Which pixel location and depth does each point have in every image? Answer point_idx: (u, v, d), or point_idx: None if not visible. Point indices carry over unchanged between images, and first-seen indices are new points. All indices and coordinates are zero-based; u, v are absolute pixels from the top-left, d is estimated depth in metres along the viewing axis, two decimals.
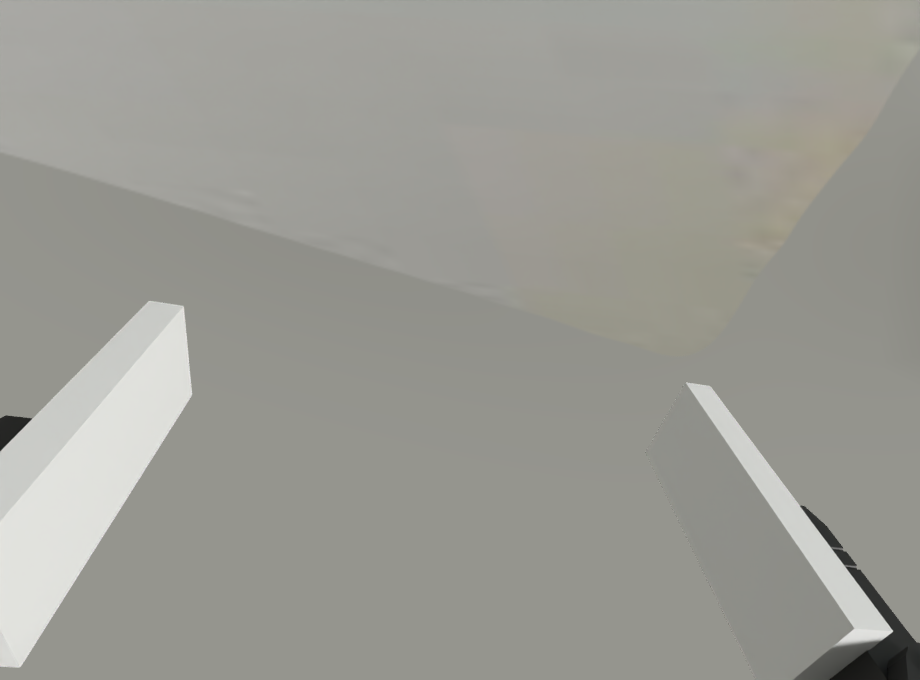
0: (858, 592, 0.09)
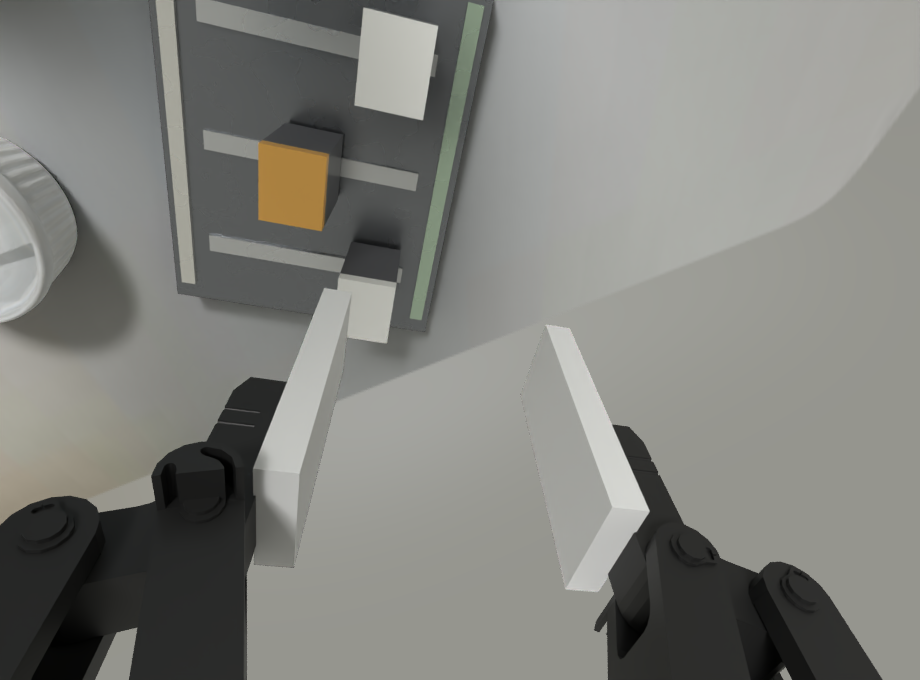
0: (632, 483, 0.10)
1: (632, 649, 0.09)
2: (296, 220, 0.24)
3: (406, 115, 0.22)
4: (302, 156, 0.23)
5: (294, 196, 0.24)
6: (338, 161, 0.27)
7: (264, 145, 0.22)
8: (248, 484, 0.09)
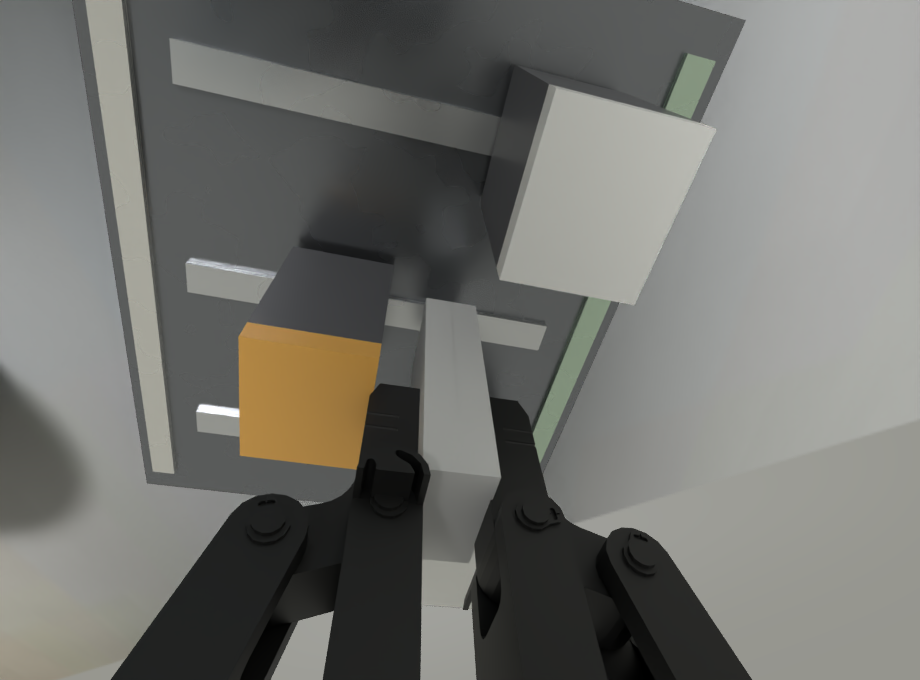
0: (491, 450, 0.10)
1: (491, 628, 0.08)
2: (313, 456, 0.13)
3: (603, 296, 0.11)
4: (329, 358, 0.11)
5: (310, 420, 0.12)
6: None
7: (251, 340, 0.11)
8: None
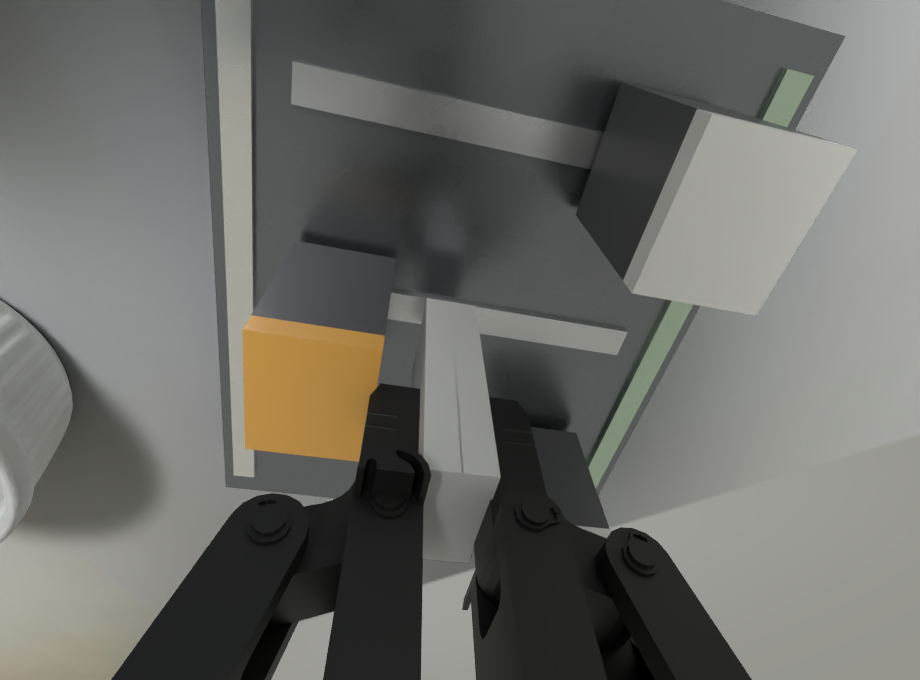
0: (491, 450, 0.10)
1: (490, 628, 0.08)
2: (317, 448, 0.13)
3: (727, 308, 0.11)
4: (333, 350, 0.11)
5: (314, 413, 0.12)
6: None
7: (255, 333, 0.11)
8: None
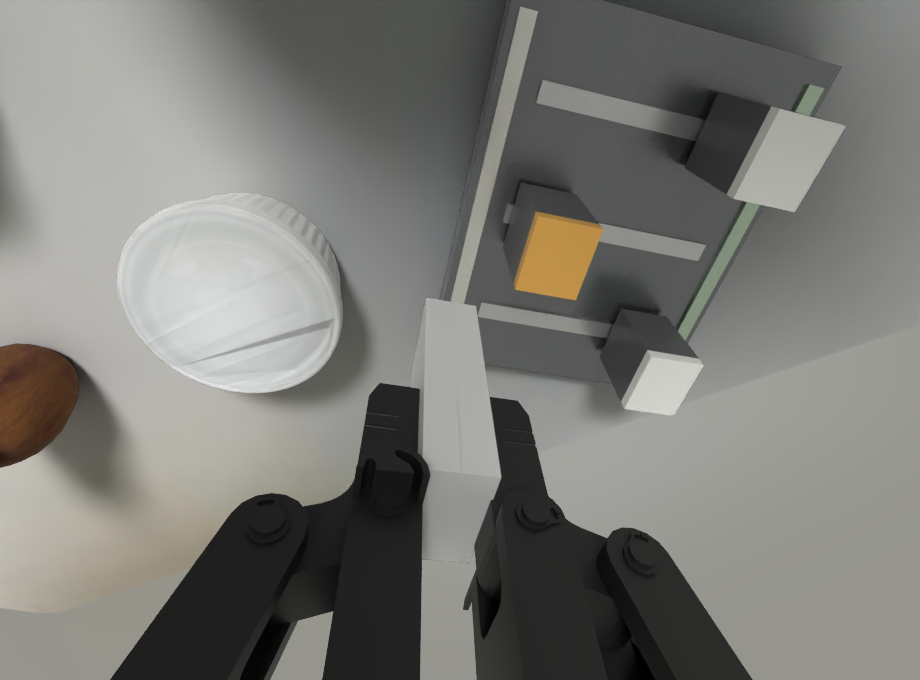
0: (491, 451, 0.10)
1: (491, 628, 0.08)
2: (553, 290, 0.23)
3: (780, 207, 0.22)
4: (579, 229, 0.22)
5: (558, 267, 0.23)
6: None
7: (543, 218, 0.21)
8: None
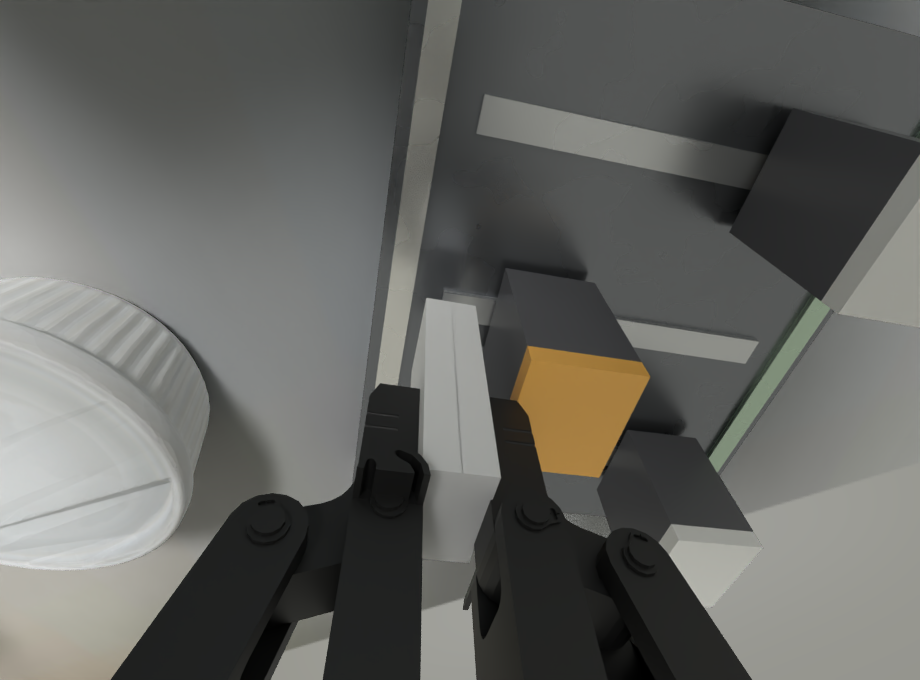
0: (491, 451, 0.10)
1: (490, 628, 0.08)
2: (561, 465, 0.14)
3: None
4: (606, 377, 0.12)
5: (569, 433, 0.13)
6: None
7: (541, 363, 0.12)
8: None
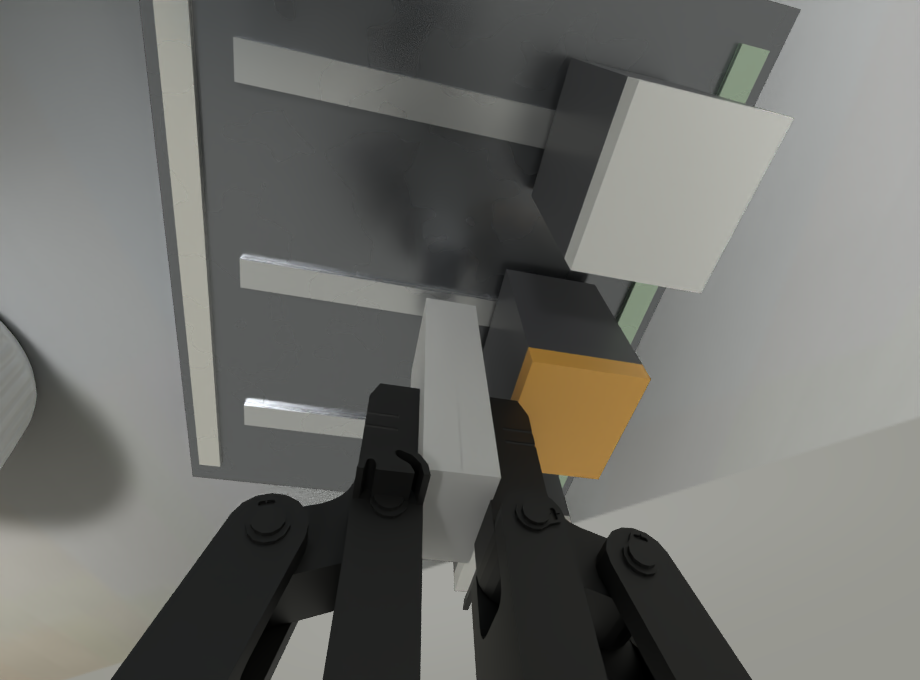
0: (491, 451, 0.10)
1: (490, 628, 0.08)
2: (561, 467, 0.14)
3: (670, 285, 0.11)
4: (607, 379, 0.12)
5: (569, 435, 0.13)
6: None
7: (542, 365, 0.12)
8: None
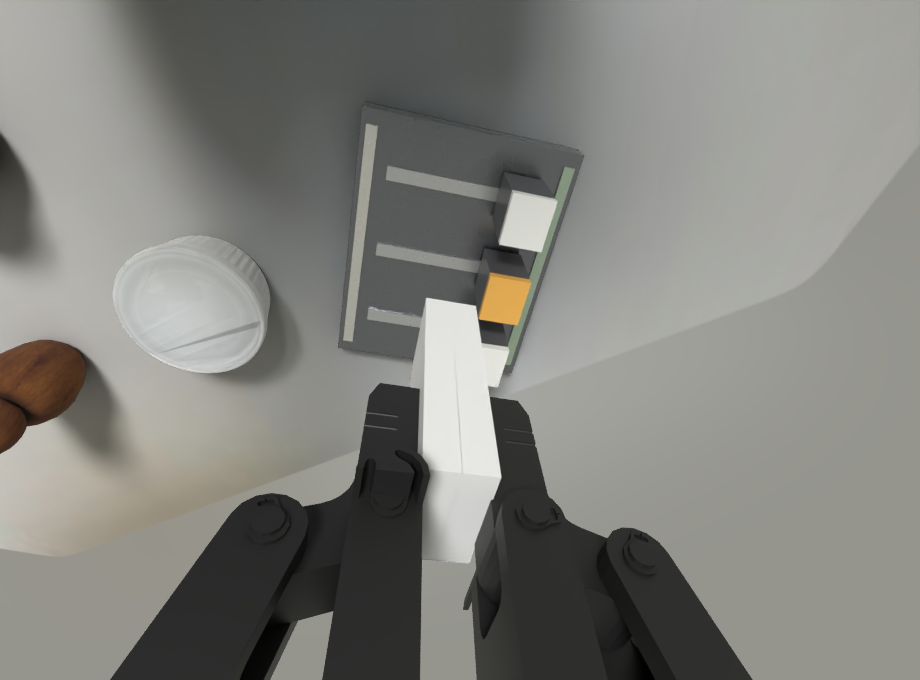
0: (491, 451, 0.10)
1: (491, 628, 0.08)
2: (503, 319, 0.37)
3: (531, 249, 0.34)
4: (516, 283, 0.36)
5: (505, 305, 0.37)
6: None
7: (494, 277, 0.35)
8: None
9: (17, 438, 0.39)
